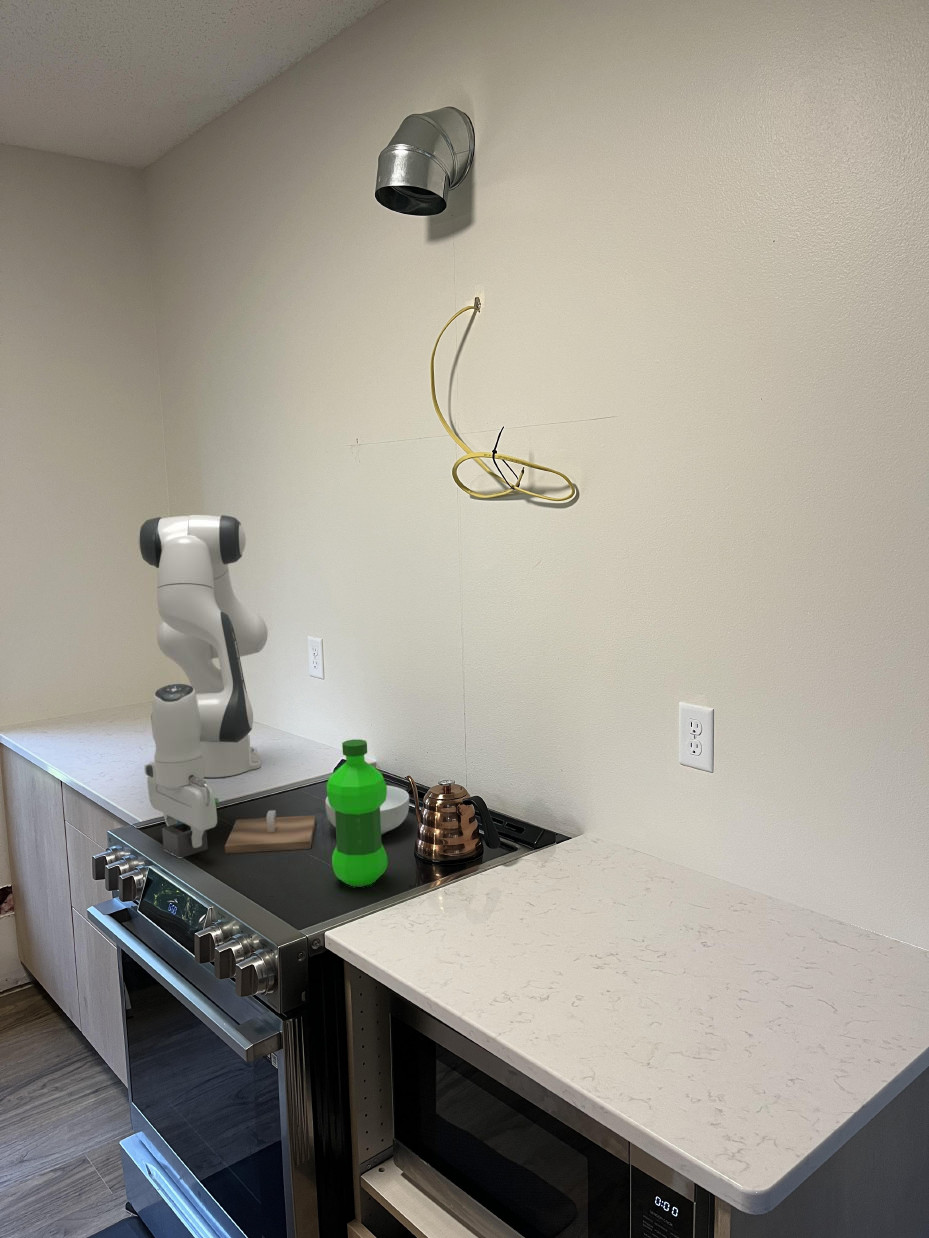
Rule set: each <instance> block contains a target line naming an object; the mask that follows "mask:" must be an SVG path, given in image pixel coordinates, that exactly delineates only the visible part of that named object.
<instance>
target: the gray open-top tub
mask: <svg viewBox="0 0 929 1238" xmlns="http://www.w3.org/2000/svg"><path fill="white" fill-rule="evenodd" d="M161 831H162V832H161V833H162V844H163V850H164V849H165V850H167V851H168V852H170V853H173V854H174V855H176V856H178V857H183V858H185V857H189V856H192V855H195V854H197V853H201V852H203V851H207V850H208V836H207V835H208V834H207V830H204V833H203V835H202V845H201V846H200V847H197V848H194V847H192V846H190V840H189V838H190V837H192V832H193V831H191V826H189V825H187V824H185V823H183V822H180V823H177V824H174V825H170V826H167V825H166V826H163V827H162V828H161ZM168 852H167V853H168Z"/></svg>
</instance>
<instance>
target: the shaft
mask: <svg viewBox="0 0 929 1238" xmlns="http://www.w3.org/2000/svg"><path fill="white" fill-rule="evenodd" d="M276 817H277V811H276V809H275V810H273V809H271V810H268V811H267V813H266V818H267V833H275V830H276Z"/></svg>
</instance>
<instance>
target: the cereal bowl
mask: <svg viewBox="0 0 929 1238" xmlns="http://www.w3.org/2000/svg"><path fill="white" fill-rule="evenodd" d="M386 786H387V795H386V801H385V802H384V803H383V804H382V805H381V806H380V820H381V836H382V835H384V834H386V833H387V832H389V831H392V830H394V829H396V828H397V827H400V825H401V824H402V823H403V822H404V821H405V819H406V818H407V816H408V813H409V810H410V809H409V808H410V794H409V793H408V791H406V790H404V788H403V789H402V788H400V787H398V786H393V785H388V784H386ZM325 813H326V816H327V819H328V821H329V822H330V823H331V824H332V825H333V827H335V828H336V820H335V810H334V809H333V808H332V807H331V806H330V804H329V800H328V796H326V798H325Z"/></svg>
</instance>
